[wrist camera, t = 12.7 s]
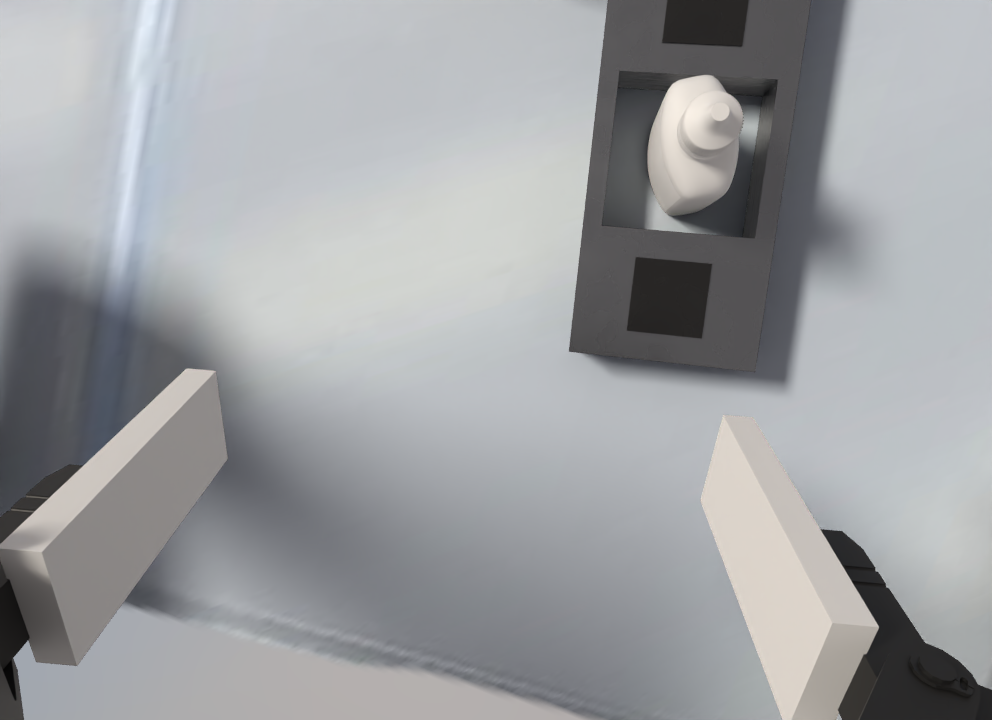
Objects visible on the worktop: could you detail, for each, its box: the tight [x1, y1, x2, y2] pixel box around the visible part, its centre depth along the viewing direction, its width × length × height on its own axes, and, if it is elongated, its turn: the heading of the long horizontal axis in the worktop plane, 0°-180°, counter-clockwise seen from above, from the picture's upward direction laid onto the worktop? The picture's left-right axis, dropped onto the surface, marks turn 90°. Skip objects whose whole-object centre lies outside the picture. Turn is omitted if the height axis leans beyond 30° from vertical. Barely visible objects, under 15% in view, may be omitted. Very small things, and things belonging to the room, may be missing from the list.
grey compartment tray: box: [569, 0, 811, 372], centre depth 35 cm, size 10×22×3 cm, turn 175°
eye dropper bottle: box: [647, 75, 744, 216], centre depth 31 cm, size 4×6×12 cm
